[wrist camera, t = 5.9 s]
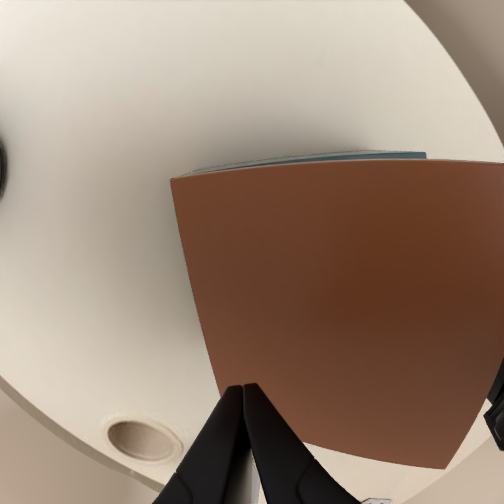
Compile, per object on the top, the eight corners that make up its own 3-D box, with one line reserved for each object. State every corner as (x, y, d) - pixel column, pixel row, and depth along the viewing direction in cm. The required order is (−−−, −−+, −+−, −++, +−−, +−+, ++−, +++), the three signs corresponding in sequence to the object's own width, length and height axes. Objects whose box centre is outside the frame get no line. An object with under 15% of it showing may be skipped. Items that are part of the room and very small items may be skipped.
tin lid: (528, 165, 5) (537, 168, 4) (447, 457, 8) (444, 469, 8) (182, 175, 11) (168, 179, 10) (233, 405, 14) (225, 413, 14)
